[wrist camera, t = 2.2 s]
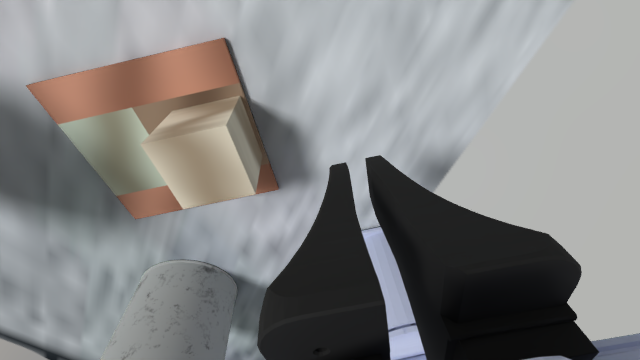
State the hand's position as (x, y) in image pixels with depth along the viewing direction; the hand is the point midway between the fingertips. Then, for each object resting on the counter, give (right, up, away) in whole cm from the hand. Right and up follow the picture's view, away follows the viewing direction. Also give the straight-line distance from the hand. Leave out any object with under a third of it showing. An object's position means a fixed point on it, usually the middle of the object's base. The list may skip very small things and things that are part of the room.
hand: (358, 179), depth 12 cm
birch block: (-8, +3, +7) cm, 11 cm away
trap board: (-12, +2, +7) cm, 14 cm away
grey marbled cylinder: (-15, -11, +17) cm, 26 cm away
